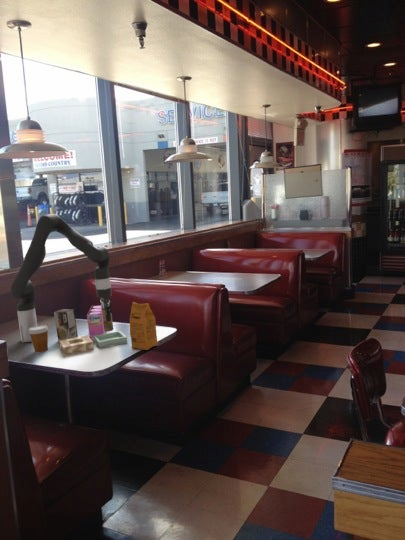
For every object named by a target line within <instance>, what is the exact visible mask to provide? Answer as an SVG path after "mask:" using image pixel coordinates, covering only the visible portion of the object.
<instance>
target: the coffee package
mask: <svg viewBox="0 0 405 540" xmlns="http://www.w3.org/2000/svg"><path fill="white" fill-rule="evenodd" d="M150 306H151V303H148V302H147V303H137V302H135V301H132V304H131V307H130V310H131V311H130V315H129V335H130V340H131V341H130V342H131V343H130V344H131V349H137V350H139V351H149V350H150V349H151V348H153V347H155V346H157V345H158V343H159V342H158V336H157V326H156V325H157V324H156V317H155V314H154V313H153V310H152V309H151V307H150Z"/></svg>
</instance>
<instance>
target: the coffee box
mask: <svg viewBox="0 0 405 540" xmlns="http://www.w3.org/2000/svg"><path fill="white" fill-rule="evenodd" d="M75 313H76V312H75V309H74V308H71V309H70V308H69V309H67V308H66V309H65V308H61V309H58V310H56V311H54V312H53V316H54V322H55V328H56V329H55V330H56V335H57V336H56V337H57V341H58V342H60V341H61V340H66V339H71V338H76V337H79V335H78V328H77V326H78V325H77V321H76V320H77V319H76V314H75Z"/></svg>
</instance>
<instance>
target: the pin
mask: <svg viewBox="0 0 405 540" xmlns="http://www.w3.org/2000/svg"><path fill="white" fill-rule="evenodd" d="M107 311H109V309H108V310H107ZM102 316H103V324H104V331H106V333H108V332H113V331H114V321H113V314H112V312H111V314H110V316H111V321H108V322H107V321H106V314H105V310H104V309H103V307H102Z"/></svg>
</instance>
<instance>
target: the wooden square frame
mask: <svg viewBox="0 0 405 540" xmlns="http://www.w3.org/2000/svg"><path fill="white" fill-rule="evenodd" d="M59 347H60V350H61V351H62V354H63V355H64V356H69V355H73V354H78V353H84V352H88V351H94V349H95V347H94V340H93V339H90V337H89V335H83V336H82V335H81V336H78V337H76V338H71V339H66V340H61V341H59Z"/></svg>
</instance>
